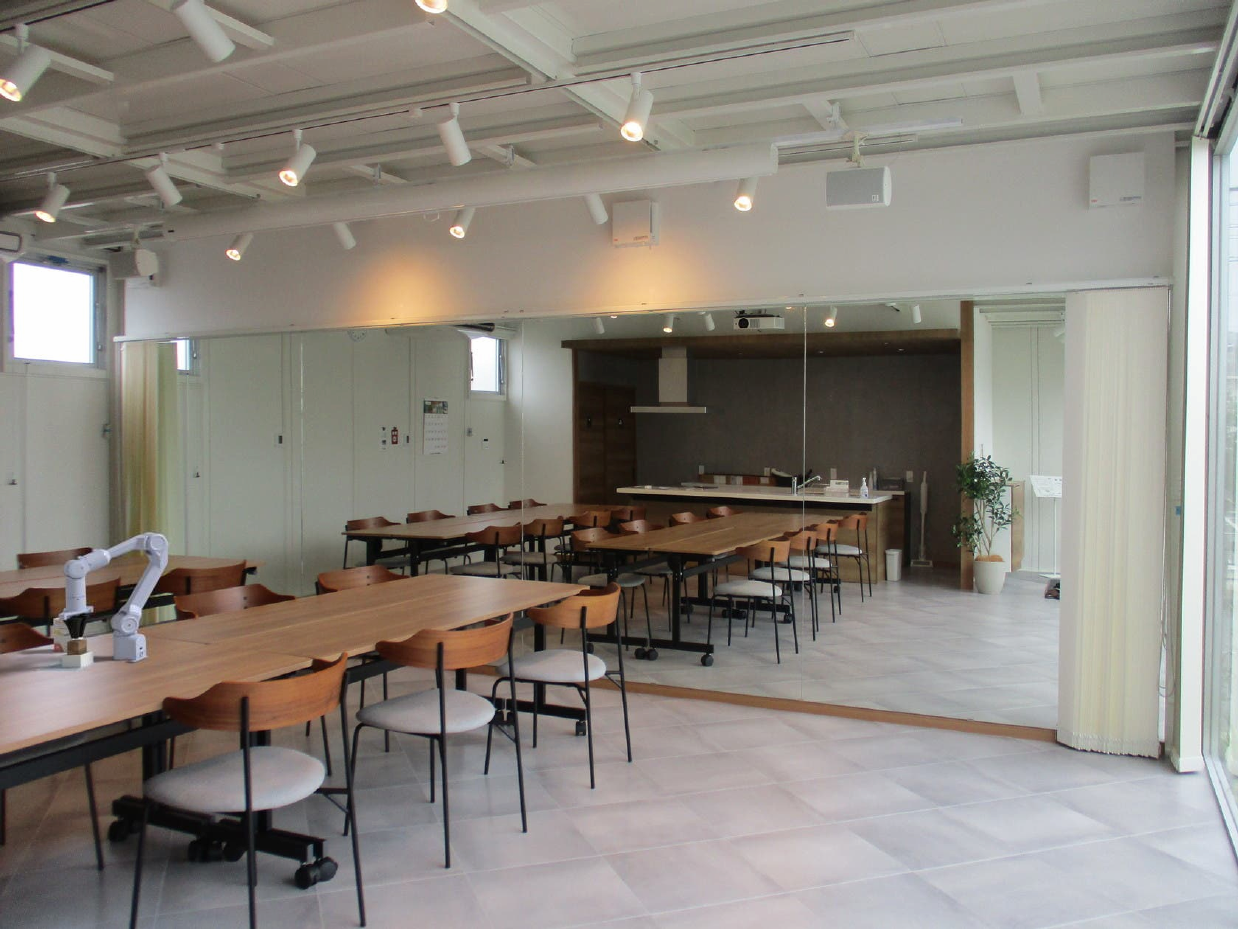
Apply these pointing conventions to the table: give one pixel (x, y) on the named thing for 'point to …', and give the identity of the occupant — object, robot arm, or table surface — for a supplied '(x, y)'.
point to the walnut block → (77, 647)
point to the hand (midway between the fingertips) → (77, 638)
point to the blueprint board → (59, 667)
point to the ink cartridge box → (61, 635)
